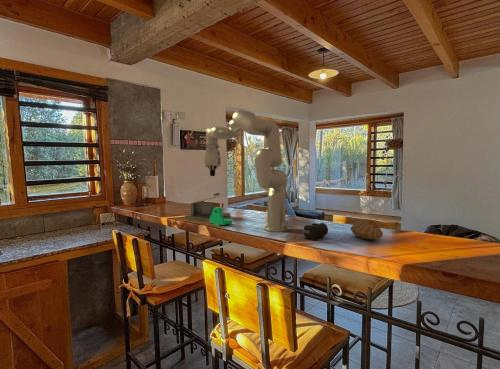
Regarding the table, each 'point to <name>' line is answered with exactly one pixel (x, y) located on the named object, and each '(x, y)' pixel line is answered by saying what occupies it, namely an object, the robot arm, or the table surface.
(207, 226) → the table surface
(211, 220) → the camera mount
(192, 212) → the leveling stand
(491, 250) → the table surface
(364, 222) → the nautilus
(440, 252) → the table surface
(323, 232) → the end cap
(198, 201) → the level plate
